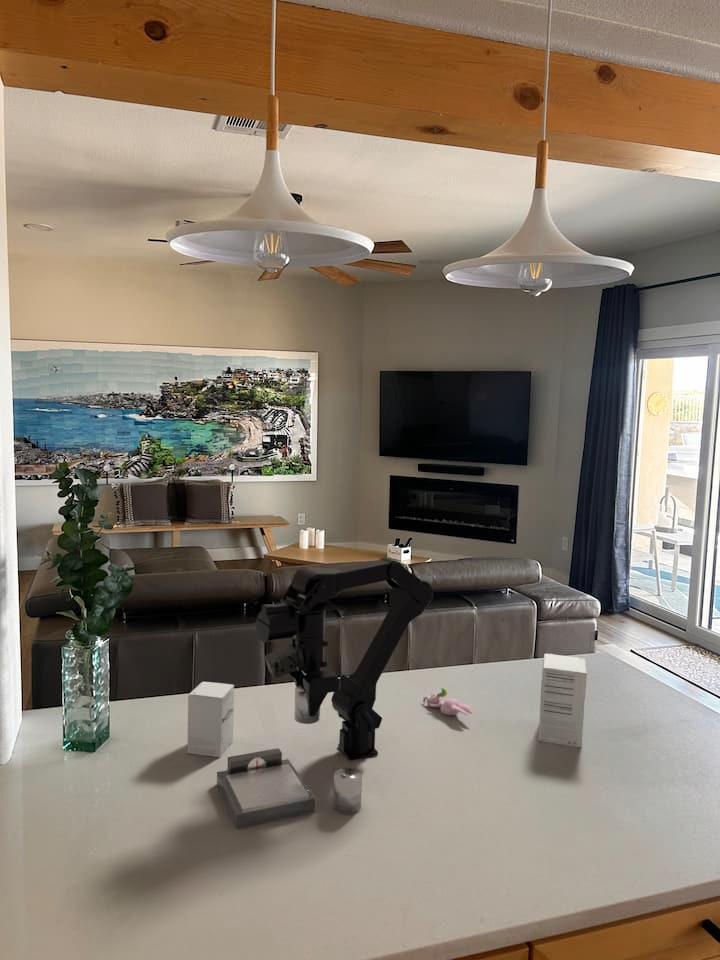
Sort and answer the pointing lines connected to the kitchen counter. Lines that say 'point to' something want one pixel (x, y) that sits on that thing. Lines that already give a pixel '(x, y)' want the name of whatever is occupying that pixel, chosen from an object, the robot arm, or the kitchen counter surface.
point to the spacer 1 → (303, 708)
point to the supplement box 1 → (210, 718)
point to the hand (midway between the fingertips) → (307, 710)
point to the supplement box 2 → (562, 700)
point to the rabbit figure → (447, 704)
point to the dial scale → (263, 789)
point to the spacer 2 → (347, 791)
